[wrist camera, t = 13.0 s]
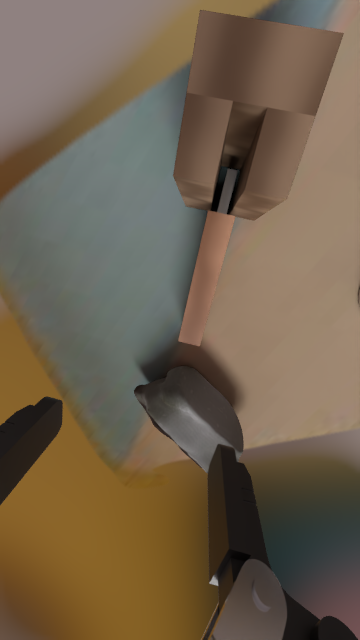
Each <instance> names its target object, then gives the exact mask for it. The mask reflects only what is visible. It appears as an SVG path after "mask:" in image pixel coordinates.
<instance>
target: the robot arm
mask: <svg viewBox="0 0 360 640" xmlns="http://www.w3.org/2000/svg"><path fill="white" fill-rule="evenodd" d="M358 299H359V305H360V290H359V296H358ZM62 404H63V403H62V401H61V400H58V399H54V398H51V397H44V398H43V399H41V400H40V401H39V402H38V403H37V404H36V405H35V406H33V405H29V406H27V407H25V408H23V409H21V410H19V411H17V412H16V413H14V414H13V415H12V416H11V417H10V418H9V419H7V420H6V421H5V423H3V424H2V425H0V505H1V504H2V502H3V501H4V500H5V499H6V497H7V496H8V495H9V494H10V493H11V491H12V490H13V489H14V488H15V486H16V485H17V484H18V483H19V481H20V480H21V479H22V478H23V476H24V475H25V474H26V473H27V471H28V470H29V469H30V468H31V466H32V465H33V464H34V463H35V461H36V460H37V459H38V458H39V457H40V455H41V454H42V453H43V451H44V450H45V449H46V448H47V447H48V445H49V444H50V443H51V441H52V440H53V439H54V438H55V437H56V435H57V434H58V432H59V430H60V428H61V425H62ZM253 492H254V491H253V486H252V480H251V476H250V474H249V473H248V471H247V469H246V467H245V465H244V464H243V463H239V462H237V459H236V453H235V449H234V448H233V447H230V446H226V445H222V444H218V445H217V447H216V449H215V452H214V454H213V457H212V459H211V462H210V465H209V469H208V526H209V527H208V532H209V583H210V584H213V585H217V586H218V590H219V591H218V593H219V603H218V605H217V607H216V609H215V611H214V613H213V616H212V618H211V620H210V622H209V624H208V626H207V628H206V631H205V633H204V635H203V637H202V639H201V640H358V639H357V638H356V636H355V635H354V634H353V632H352V631H351V630H350V629H349V628H348V627H347V626H346V625H345V624H344V623H342V622H341V621H340V620H338V619H337V618H334V617H332V616H326V617H324V618H322V619H321V620H320V619H318V618H317V617H316V616H314V615H313V614H312V613H311V612H309V611H308V610H306V609H305V608H304V607H303V606H301V605H300V604H299V603H298V602H296V601H295V600H294V599H293V598H291V597H290V596H289V595H288V594H287V593H286V591H285V590H284V589H283V588H282V586H281V585H280V583H279V581H278V580H277V578H276V576H275V575H274V573H273V571H272V569H271V567H270V564H269V561H268V557H267V553H266V548H265V543H264V539H263V533H262V529H261V524H260V519H259V514H258V509H257V506H256V500H255V495H254V493H253Z"/></svg>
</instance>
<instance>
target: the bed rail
mask: <svg viewBox="0 0 360 640" xmlns="http://www.w3.org/2000/svg"><path fill="white" fill-rule="evenodd" d="M237 172H238V170H233V169H228V170H227V174H226V178H225V181H224V185H223V189H222V193H221V197H220V201H219V205H218V210H217V212H214V211H209V210H208V213H207V218H206V222H205V226H204V231H203V235H202V239H201V244H200V248H199V253H198V257H197V261H196V266H195V270H194V274H193V279H192V283H191V287H190V292H189V296H188V300H187V305H186V309H185V313H184V318H183V322H182V326H181V331H180V335H179V339H178V341H179V342H184V343H188V344H192V345H196V346H200V344H201V340H202V336H203V333H204V329H205V326H206V322H207V318H208V315H209V311H210V307H211V304H212V300H213V296H214V293H215V289H216V286H217V282H218V278H219V275H220V271H221V267H222V264H223V260H224V256H225V253H226V249H227V246H228V242H229V238H230V235H231V231H232V227H233V224H234V220H235V216H232V215H228V214H227V210H228V206H229V202H230V199H231V195H232V191H233V187H234V183H235V179H236V175H237Z"/></svg>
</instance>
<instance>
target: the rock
mask: <svg viewBox="0 0 360 640" xmlns="http://www.w3.org/2000/svg"><path fill="white" fill-rule="evenodd" d="M134 394H135V396H136V398H137V399H138V401H139V402H140V404H141V405H142V406H143V407H144V409H145V410H146V412H147V414H148V416H149V417H150V419H151V421H152V423H153V425H154V426H155V427H156V428H157V429H158V430H159V431H160V432H161V433H163V434H164V435H166V436H167V437H169V438H170V439H172V440H173V441H174V442H175V443H176V444H177V445H178V446H179V447H180V449H181V450H182V451H183V452H184V453H185V454H186V455H187V456H189V457H190V458H191V459H192V460H193V461H194V462H195V463H196V464H197V465H199V466H200V467H201V468H203V470H204V471H205V472H206V473H208V469H209V465H210V462H211V459H212V457H213V454H214V452H215V449H216V447H217V445H218V444H222V445H226V446H230V447H233V448H234V449H235V453H236V459H237V462H238V461H239V458H240V456H241V454H242V452H243V434H242V429H241V426H240V423H239V420H238V417H237V415H236V413H235V411H234V409H233V408H232V406H231V405H230V403H229V402H228V401H227V400H226V398H225V397H224V396H223V395H222V394H221V393H220V392H219V391H218V390H217V389H216V388H214V387H213V386H212V385H211V384H210V383H209V382H208V381H207V380H206V379H205V378H204V377H203V376H202V375H201V374H200V373H199V372H197V371H196V370H195V369H194V368H191V367H187V366H180V367H175V368H173V369H171V370H169V371H168V373H167V377H166V378H162V379H159V380H156V381H154V382H152V383H149V384H146V385H139V386H137V387H136V388H135V390H134Z"/></svg>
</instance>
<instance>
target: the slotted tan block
mask: <svg viewBox="0 0 360 640" xmlns="http://www.w3.org/2000/svg"><path fill="white" fill-rule="evenodd" d="M343 34H344V33H339V32H333V31H327V30H321V29H314V28H308V27H302V26H296V25H290V24H284V23H278V22H271V21H265V20H259V19H253V18H247V17H241V16H234V15H228V14H222V13H216V12H210V11H204V10H200V14H199V20H198V26H197V33H196V38H195V44H194V51H193V57H192V63H191V69H190V75H189V81H188V88H187V94H186V100H185V106H184V112H183V118H182V124H181V131H180V137H179V143H178V149H177V155H176V161H175V167H174V174H173V177H174V179H175V181H176V184H177V186H178V189H179V191H180V193H181V196H182V198H183V200H184V203H185V205H186V206H187V207H192V208H197V209H201V210H206V211H208V210H209V211H211V208H212V203H213V199H214V195H215V190H216V186H217V182H218V177H219V173H220V168H221V166H224V167H229V168H234V169H239V170H240V174H239V178H238V182H237V185H236V189H235V193H234V197H233V201H232V205H231V209H230V212H229V215H232V216H235V217H240V218H244V219H249V220H256V219H257V218H259V217H260V216H262V215H263V214H265V213H266V212H268V211H269V210H271V209H272V208H274V207H275V206H277V205H279V204H280V203H282V202H283V201H285V200H286V199H287V198H288V195H289V192H290V189H291V186H292V183H293V180H294V177H295V175H296V172H297V169H298V166H299V163H300V160H301V157H302V154H303V151H304V148H305V145H306V142H307V139H308V136H309V134H310V131H311V128H312V125H313V122H314V119H315V116H316V113H317V110H318V107H319V104H320V101H321V98H322V95H323V93H324V90H325V87H326V84H327V81H328V78H329V75H330V72H331V69H332V66H333V63H334V60H335V57H336V54H337V52H338V49H339V46H340V43H341V40H342V37H343Z"/></svg>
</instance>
